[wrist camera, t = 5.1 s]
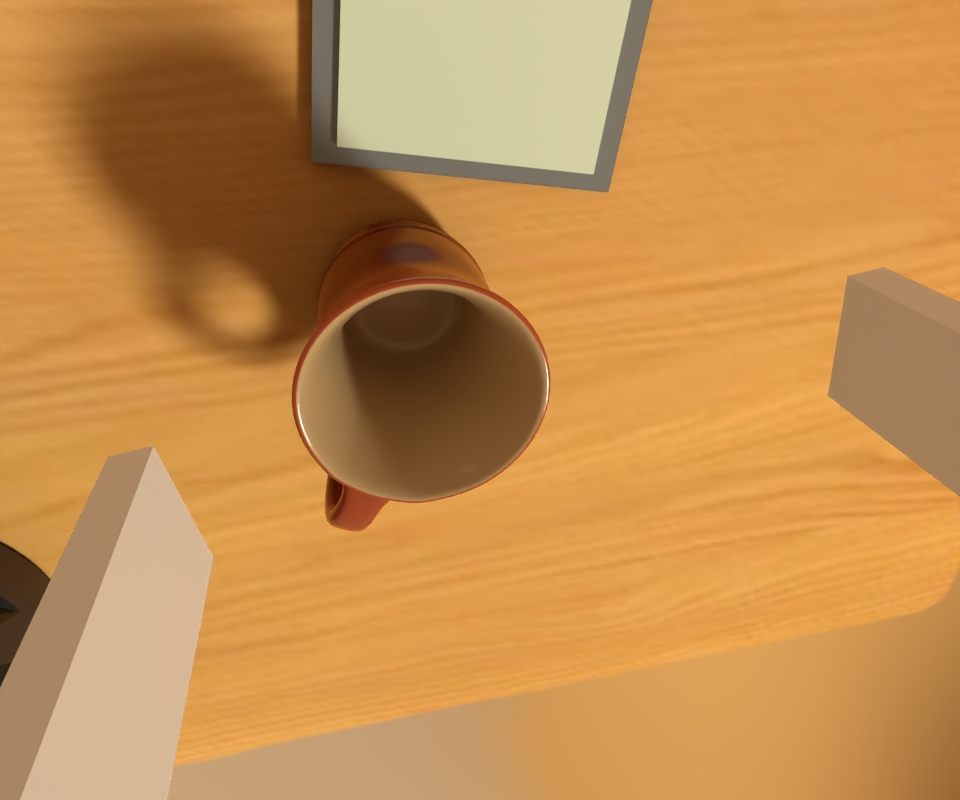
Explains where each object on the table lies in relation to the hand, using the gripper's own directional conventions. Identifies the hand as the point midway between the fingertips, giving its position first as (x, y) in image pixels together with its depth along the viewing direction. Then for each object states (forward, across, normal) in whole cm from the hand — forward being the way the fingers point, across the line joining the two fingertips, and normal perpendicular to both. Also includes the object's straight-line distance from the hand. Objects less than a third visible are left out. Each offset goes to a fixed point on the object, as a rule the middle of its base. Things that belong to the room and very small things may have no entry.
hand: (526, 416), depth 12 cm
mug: (+19, -2, -6) cm, 20 cm away
